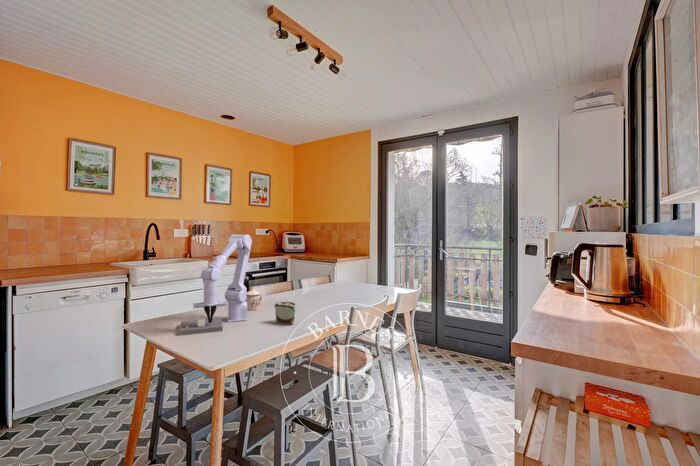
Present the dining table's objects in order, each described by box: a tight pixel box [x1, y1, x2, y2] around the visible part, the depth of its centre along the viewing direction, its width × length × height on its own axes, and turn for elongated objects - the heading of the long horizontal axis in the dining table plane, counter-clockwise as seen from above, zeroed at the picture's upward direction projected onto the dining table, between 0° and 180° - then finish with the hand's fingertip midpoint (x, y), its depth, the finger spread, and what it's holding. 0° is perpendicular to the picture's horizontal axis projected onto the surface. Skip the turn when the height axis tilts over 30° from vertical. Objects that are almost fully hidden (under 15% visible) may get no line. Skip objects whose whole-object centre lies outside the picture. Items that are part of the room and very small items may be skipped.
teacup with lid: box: [244, 288, 263, 311], centre depth 195 cm, size 12×9×12 cm
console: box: [178, 317, 224, 336], centre depth 157 cm, size 18×16×2 cm
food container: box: [273, 301, 297, 326], centre depth 169 cm, size 12×6×10 cm, turn 65°
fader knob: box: [197, 315, 206, 327], centre depth 155 cm, size 3×4×4 cm
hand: (210, 322), depth 156 cm, fingers closed
